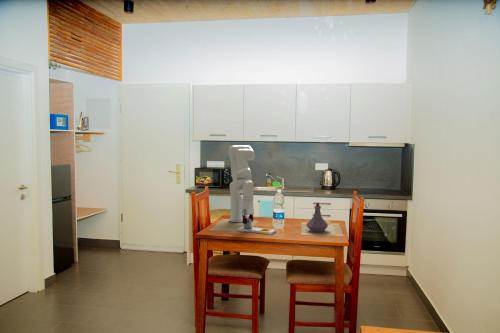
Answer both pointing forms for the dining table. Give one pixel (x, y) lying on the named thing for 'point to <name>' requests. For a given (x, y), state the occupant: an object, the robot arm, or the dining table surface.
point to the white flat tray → (257, 230)
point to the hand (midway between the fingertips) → (247, 222)
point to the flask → (317, 221)
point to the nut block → (248, 224)
